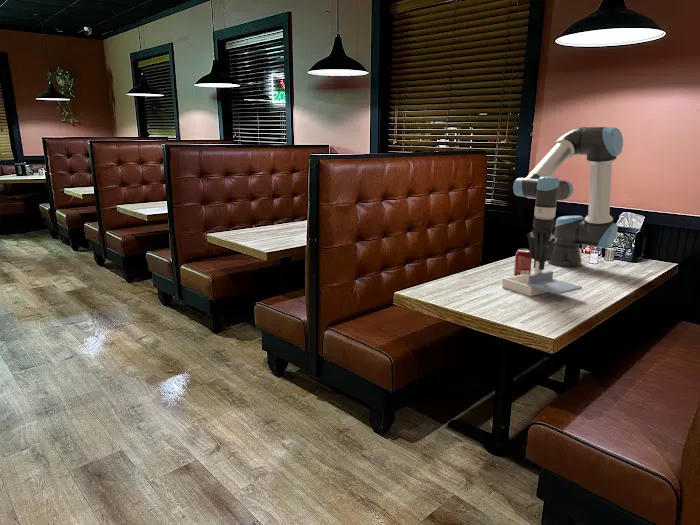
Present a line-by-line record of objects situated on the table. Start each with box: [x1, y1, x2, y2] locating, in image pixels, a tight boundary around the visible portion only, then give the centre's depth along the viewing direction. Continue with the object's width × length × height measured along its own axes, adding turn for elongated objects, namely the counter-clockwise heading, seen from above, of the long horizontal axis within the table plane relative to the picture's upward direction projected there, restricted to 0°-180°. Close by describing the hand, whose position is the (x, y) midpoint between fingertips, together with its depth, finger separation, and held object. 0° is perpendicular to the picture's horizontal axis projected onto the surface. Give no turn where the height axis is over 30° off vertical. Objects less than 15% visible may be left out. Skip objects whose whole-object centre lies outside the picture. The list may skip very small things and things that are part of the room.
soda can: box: [513, 248, 533, 276], centre depth 216 cm, size 7×7×12 cm
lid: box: [527, 270, 583, 295], centre depth 190 cm, size 14×14×4 cm
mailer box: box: [502, 274, 549, 297], centre depth 201 cm, size 14×14×4 cm
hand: (537, 277), depth 196 cm, fingers closed
